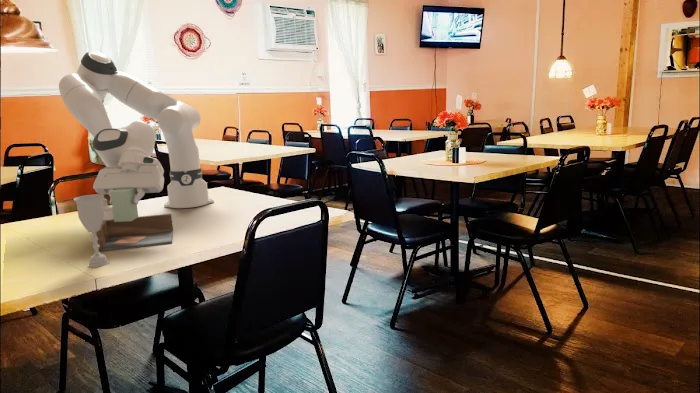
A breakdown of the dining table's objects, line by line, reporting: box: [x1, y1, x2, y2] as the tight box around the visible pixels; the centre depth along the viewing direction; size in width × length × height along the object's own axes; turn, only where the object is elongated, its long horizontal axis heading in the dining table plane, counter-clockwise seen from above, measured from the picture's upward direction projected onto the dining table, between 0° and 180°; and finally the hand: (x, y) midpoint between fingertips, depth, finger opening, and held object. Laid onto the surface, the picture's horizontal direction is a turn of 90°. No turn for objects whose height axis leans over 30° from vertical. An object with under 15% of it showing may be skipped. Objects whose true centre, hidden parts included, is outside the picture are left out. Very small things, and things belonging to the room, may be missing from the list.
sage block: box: [110, 188, 139, 222], centre depth 154 cm, size 5×5×9 cm
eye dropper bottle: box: [102, 196, 114, 220], centre depth 170 cm, size 4×6×12 cm
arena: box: [96, 213, 174, 253], centre depth 157 cm, size 14×20×6 cm
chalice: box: [73, 193, 110, 268], centre depth 135 cm, size 7×7×18 cm
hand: (123, 203), depth 154 cm, fingers closed on sage block, 5 cm apart
